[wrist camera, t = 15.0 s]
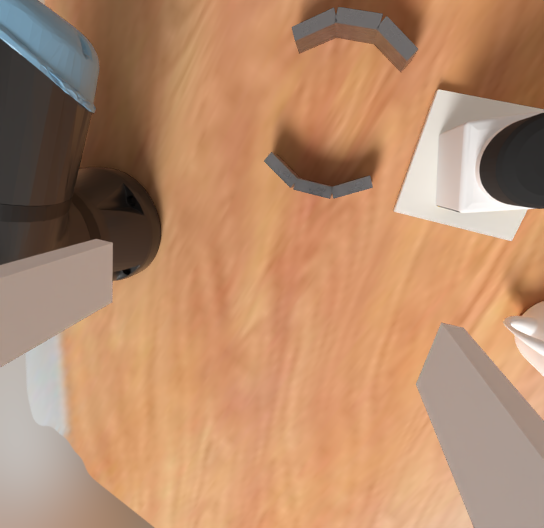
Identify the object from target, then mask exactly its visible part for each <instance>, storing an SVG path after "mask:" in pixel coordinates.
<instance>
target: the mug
mask: <svg viewBox="0 0 544 528" xmlns="http://www.w3.org/2000/svg"><path fill="white" fill-rule="evenodd" d="M503 323H504V325H505V326H506V327H507V328H508V329H509V330H510V331H511V332H512V333H513V334H514V335H515V342H516V345H517V347H518V349H519V351H520V352H521V354H522V355H523V356H524V357H525V358H526V359H527V360H528V361H529V362H530V364H532V365H533V366H534V367H535V368H536V369H537V370H538V371H539V372H540V373H541V374H542V375H543V376H544V301H542V302H539V303H537V304H535V305H534V306H532V307H530V308H529V309H528V310H527V311H526V312H525V313H524V314H523V315H522V316H509V317H506V318H505V319H504V321H503Z"/></svg>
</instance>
